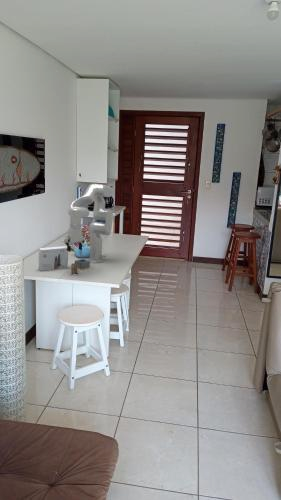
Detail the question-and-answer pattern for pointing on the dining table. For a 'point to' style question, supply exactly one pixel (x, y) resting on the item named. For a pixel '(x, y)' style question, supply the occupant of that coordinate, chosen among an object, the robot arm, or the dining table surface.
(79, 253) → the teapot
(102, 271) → the dining table surface
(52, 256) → the skincare box
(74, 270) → the peg
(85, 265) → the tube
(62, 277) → the dining table surface
